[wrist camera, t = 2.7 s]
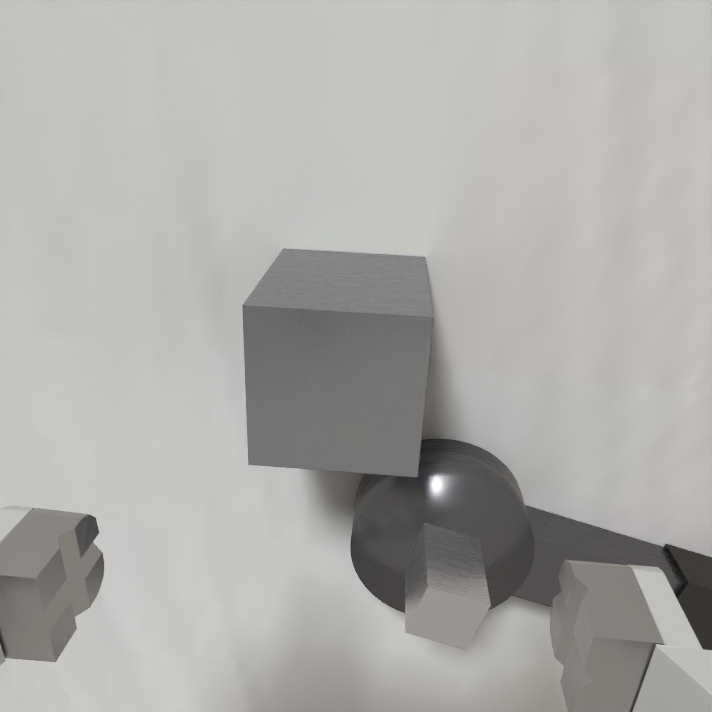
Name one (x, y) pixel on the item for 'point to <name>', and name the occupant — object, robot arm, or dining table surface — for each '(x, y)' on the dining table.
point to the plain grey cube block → (338, 362)
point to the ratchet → (488, 546)
